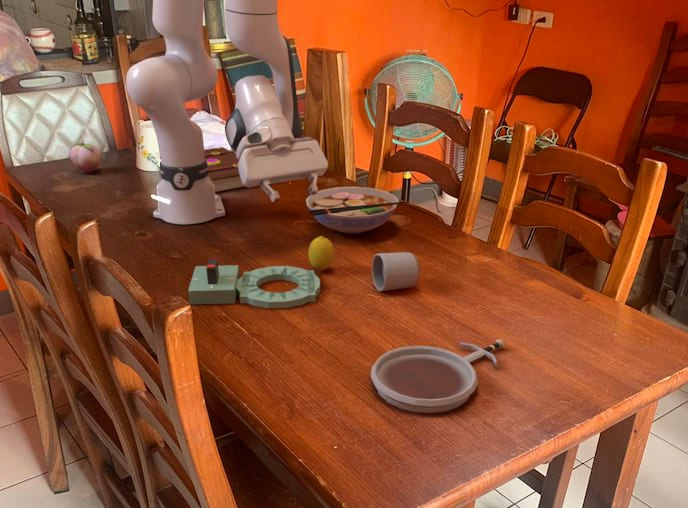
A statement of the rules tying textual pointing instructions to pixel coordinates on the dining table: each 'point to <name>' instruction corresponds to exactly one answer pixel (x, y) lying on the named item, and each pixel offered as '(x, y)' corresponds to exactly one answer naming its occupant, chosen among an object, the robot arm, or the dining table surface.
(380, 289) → the ceramic mug
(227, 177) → the book
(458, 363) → the frying pan
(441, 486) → the dining table surface
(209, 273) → the hob knob
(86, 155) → the decorative fruit
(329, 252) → the lemon
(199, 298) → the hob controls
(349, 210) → the ramen bowl
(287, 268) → the hob
